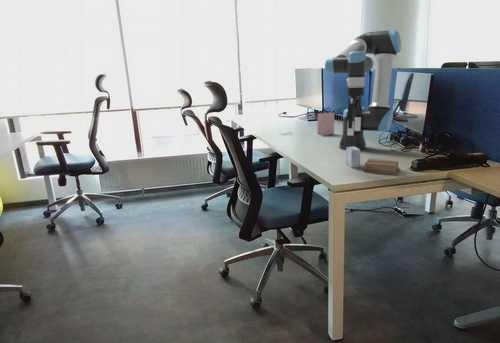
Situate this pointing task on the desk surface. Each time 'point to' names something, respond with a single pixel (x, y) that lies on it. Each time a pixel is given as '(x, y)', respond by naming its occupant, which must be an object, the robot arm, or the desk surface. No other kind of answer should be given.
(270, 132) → the desk surface
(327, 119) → the pink rectangular block
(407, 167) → the desk surface
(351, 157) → the medicine box
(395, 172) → the plinth
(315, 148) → the desk surface
